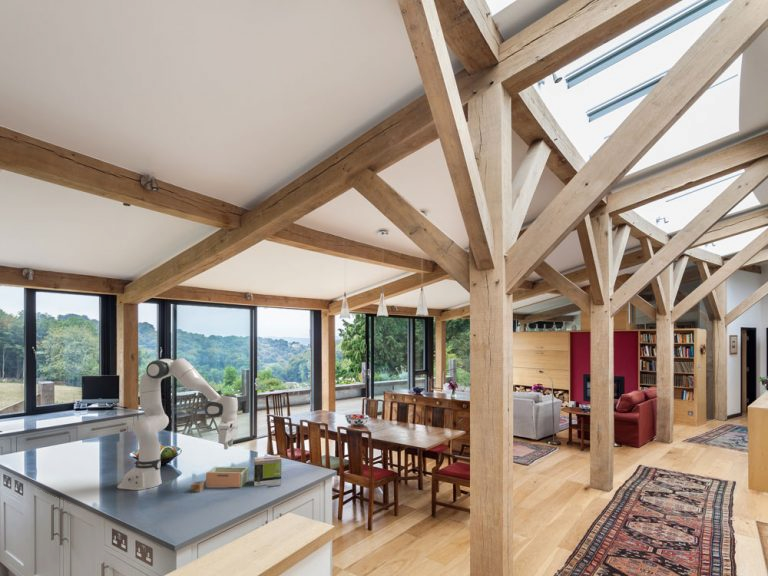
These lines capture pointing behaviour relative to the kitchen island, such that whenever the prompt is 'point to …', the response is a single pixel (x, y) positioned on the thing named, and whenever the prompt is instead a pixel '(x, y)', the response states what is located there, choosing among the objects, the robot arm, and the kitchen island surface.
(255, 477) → the tea box
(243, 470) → the box
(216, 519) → the kitchen island surface
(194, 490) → the walnut block
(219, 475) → the board
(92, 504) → the kitchen island surface
